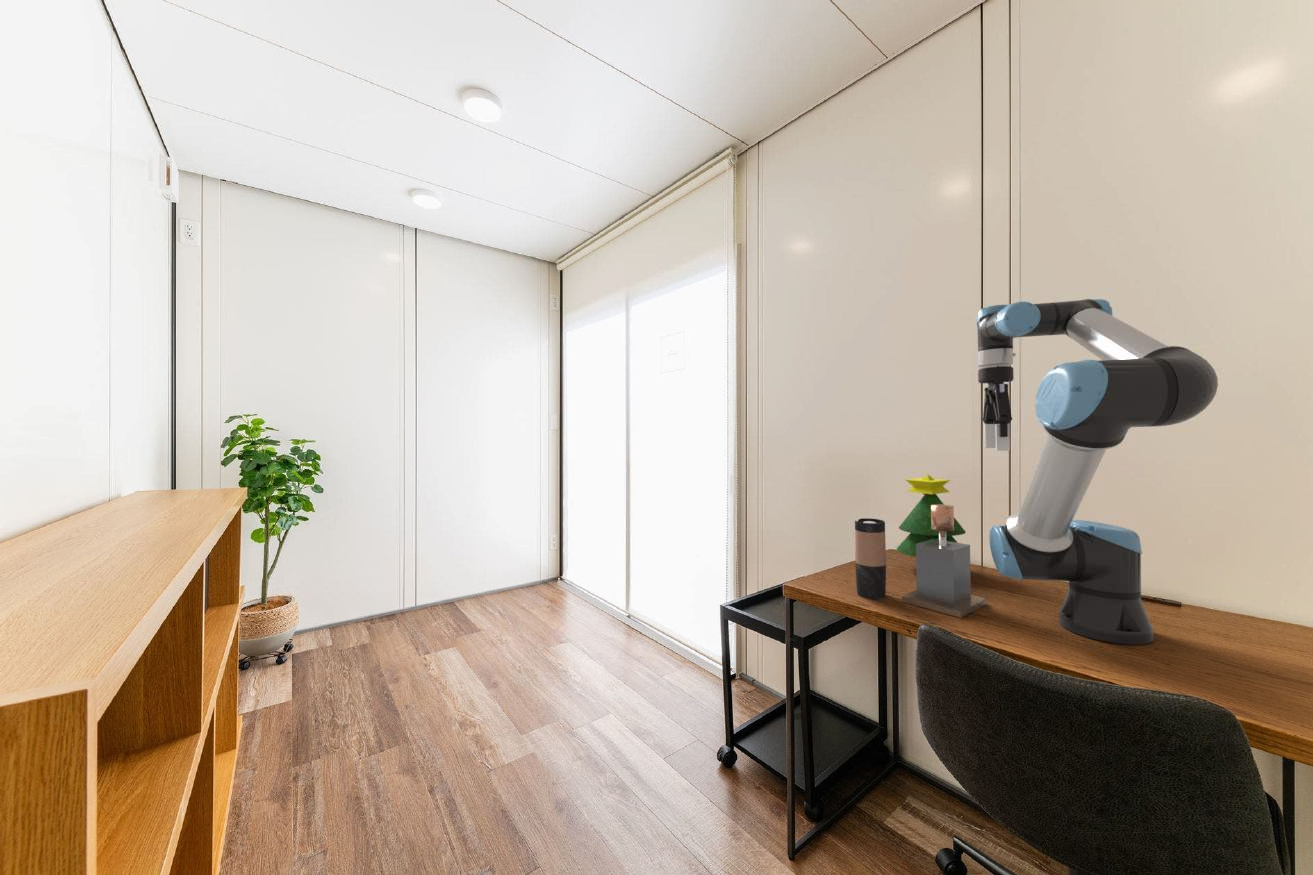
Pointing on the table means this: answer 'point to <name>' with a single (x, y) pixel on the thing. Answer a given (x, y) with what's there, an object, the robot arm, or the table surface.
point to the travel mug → (870, 558)
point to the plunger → (942, 520)
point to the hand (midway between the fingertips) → (996, 449)
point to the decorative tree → (924, 515)
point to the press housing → (944, 579)
